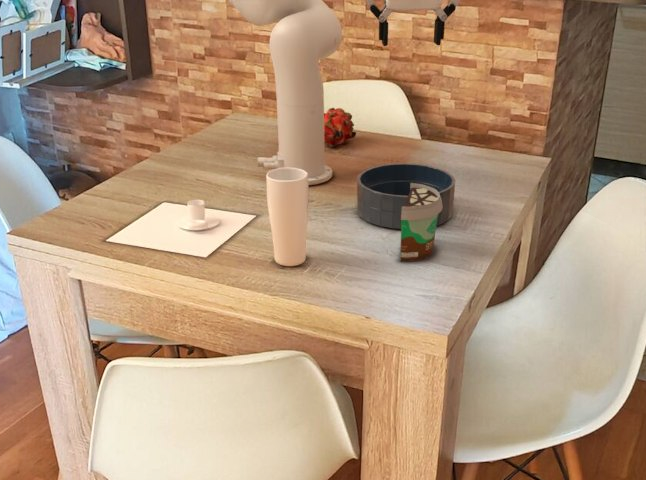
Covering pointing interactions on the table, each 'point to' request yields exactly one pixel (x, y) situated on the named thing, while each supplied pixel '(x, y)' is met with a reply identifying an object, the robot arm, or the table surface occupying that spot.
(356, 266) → the table surface
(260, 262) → the table surface
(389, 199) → the bowl
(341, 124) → the dragon fruit
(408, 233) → the food container
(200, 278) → the table surface
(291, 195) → the drinking glass
